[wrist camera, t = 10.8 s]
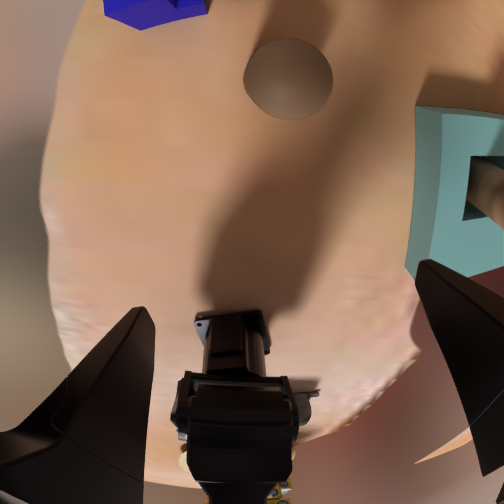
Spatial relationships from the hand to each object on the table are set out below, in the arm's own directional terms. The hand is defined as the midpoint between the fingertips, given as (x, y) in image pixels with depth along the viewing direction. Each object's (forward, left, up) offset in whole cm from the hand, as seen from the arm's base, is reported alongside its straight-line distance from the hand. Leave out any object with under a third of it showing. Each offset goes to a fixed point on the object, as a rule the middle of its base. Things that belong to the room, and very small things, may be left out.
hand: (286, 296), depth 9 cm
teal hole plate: (-4, -20, -13) cm, 24 cm away
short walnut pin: (+6, -2, -13) cm, 14 cm away
